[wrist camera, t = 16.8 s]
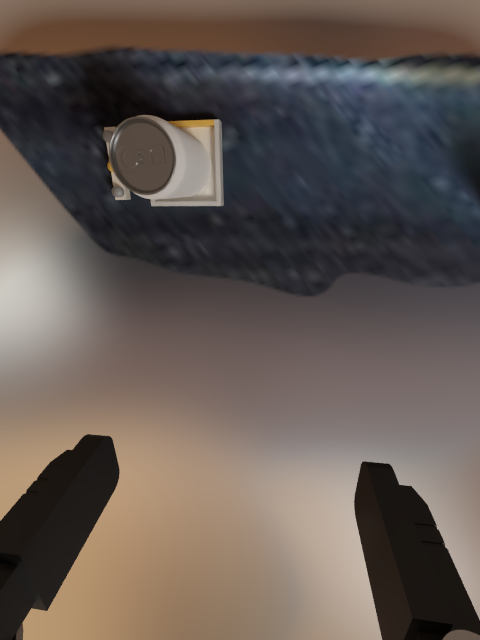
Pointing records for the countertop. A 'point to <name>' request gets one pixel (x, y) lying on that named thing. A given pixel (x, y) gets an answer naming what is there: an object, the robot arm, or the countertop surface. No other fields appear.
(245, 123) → the countertop surface
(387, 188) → the countertop surface
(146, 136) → the can
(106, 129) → the indicator bank
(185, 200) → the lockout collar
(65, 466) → the robot arm
